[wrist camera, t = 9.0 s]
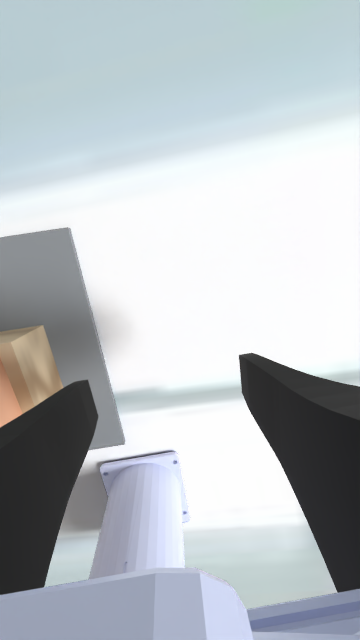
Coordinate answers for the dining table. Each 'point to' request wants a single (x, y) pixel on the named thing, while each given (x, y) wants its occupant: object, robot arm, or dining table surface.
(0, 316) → the build plate
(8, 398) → the terracotta brick
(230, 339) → the dining table surface
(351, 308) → the dining table surface
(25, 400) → the oak brick
